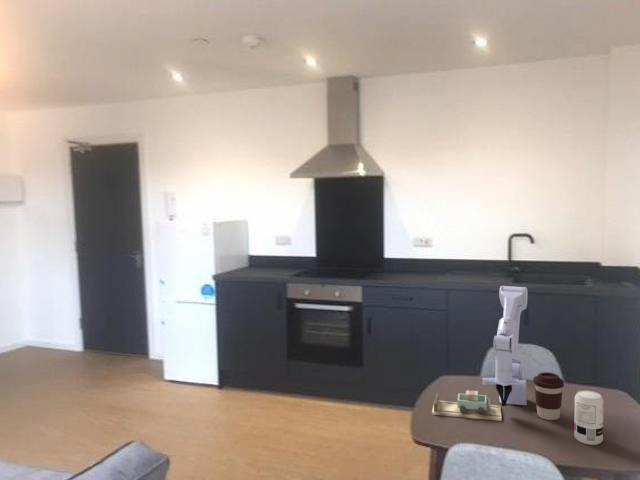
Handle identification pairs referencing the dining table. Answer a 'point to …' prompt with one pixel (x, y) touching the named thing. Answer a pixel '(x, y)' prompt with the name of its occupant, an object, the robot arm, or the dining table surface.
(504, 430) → the dining table surface
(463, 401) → the cart
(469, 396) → the block
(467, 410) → the track board
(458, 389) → the dining table surface
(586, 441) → the supplement can
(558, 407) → the coffee cup
